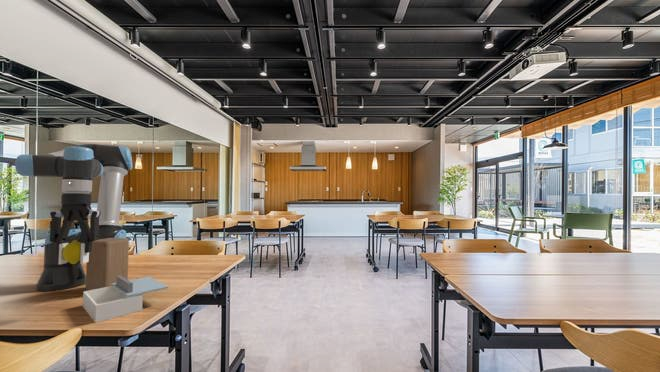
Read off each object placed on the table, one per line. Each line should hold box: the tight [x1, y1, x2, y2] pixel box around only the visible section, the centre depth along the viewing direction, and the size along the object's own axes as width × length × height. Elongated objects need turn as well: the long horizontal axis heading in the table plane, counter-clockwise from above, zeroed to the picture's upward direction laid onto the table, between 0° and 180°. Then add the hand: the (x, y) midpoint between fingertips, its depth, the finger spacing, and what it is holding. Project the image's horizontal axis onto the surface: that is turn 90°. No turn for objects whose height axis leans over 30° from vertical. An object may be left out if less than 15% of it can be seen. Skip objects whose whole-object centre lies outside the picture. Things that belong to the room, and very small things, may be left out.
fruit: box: [62, 240, 82, 264], centre depth 92 cm, size 6×6×8 cm
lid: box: [112, 275, 169, 297], centre depth 100 cm, size 19×12×4 cm, turn 50°
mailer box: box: [82, 286, 144, 324], centre depth 94 cm, size 19×12×5 cm, turn 50°
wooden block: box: [85, 237, 130, 291], centre depth 114 cm, size 10×10×20 cm
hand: (73, 262), depth 92 cm, fingers closed on fruit, 6 cm apart
